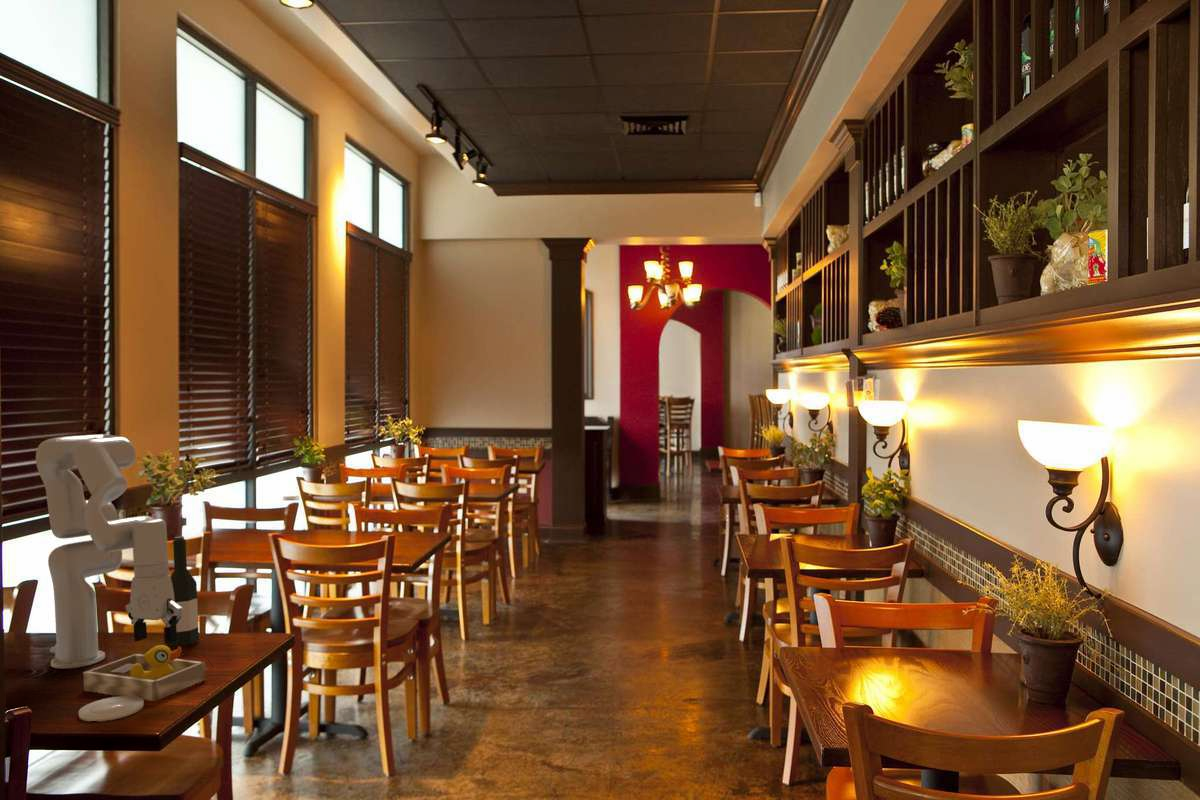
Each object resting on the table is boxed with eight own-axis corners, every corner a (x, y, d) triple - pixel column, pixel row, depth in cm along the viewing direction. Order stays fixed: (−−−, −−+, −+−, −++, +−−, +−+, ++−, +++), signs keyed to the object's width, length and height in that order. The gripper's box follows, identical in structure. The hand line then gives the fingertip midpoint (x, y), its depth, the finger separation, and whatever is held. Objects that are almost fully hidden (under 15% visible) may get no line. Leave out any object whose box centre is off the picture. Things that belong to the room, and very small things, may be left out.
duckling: (181, 679, 228) (179, 639, 228) (184, 685, 223) (182, 644, 223) (130, 688, 222) (128, 647, 222) (131, 694, 217) (130, 653, 217)
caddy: (84, 690, 221) (83, 672, 221) (136, 671, 235) (135, 653, 235) (155, 701, 213) (154, 682, 212) (205, 680, 227) (204, 662, 226)
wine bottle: (174, 639, 263) (169, 535, 262) (204, 637, 264) (199, 533, 263) (162, 647, 255) (158, 540, 254) (193, 646, 256) (189, 539, 254)
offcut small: (110, 679, 224) (109, 671, 224) (128, 671, 230) (127, 663, 229) (124, 680, 223) (123, 672, 223) (141, 672, 229) (141, 664, 229)
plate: (65, 717, 204) (64, 712, 204) (115, 697, 216) (115, 692, 216) (107, 724, 199) (107, 719, 199) (156, 703, 211) (156, 698, 211)
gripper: (112, 572, 221) (116, 643, 221) (165, 575, 215) (170, 647, 215) (138, 566, 228) (142, 634, 228) (191, 568, 222) (195, 639, 222)
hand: (155, 641), depth 222 cm, fingers open, 9 cm apart
